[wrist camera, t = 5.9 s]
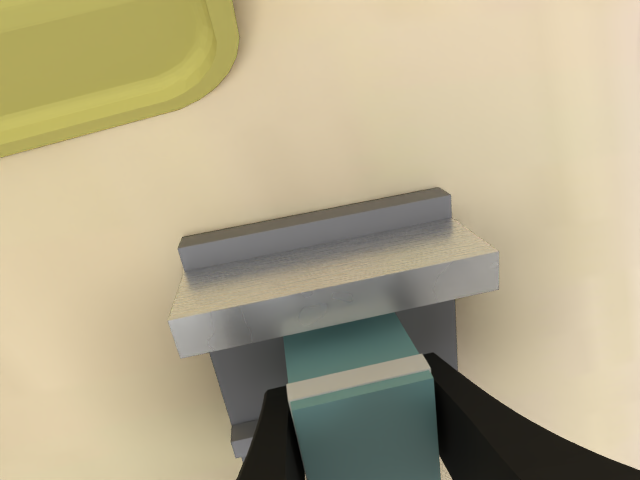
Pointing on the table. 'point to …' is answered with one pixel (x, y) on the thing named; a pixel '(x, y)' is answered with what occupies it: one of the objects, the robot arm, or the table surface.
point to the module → (362, 402)
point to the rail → (329, 285)
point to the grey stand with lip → (296, 232)
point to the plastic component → (105, 63)
